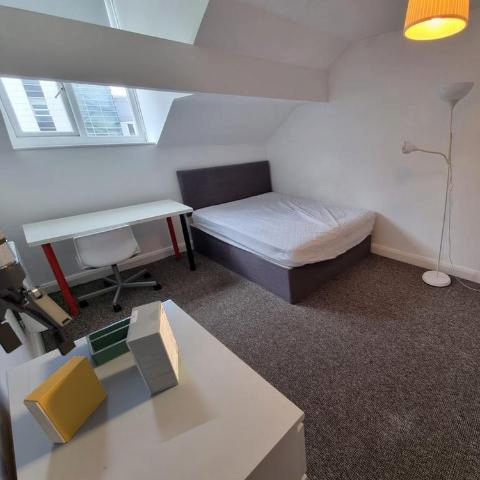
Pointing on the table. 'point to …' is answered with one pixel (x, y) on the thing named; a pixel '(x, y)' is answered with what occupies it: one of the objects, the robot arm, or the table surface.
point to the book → (66, 399)
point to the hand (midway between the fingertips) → (41, 350)
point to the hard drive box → (153, 347)
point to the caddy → (109, 342)
